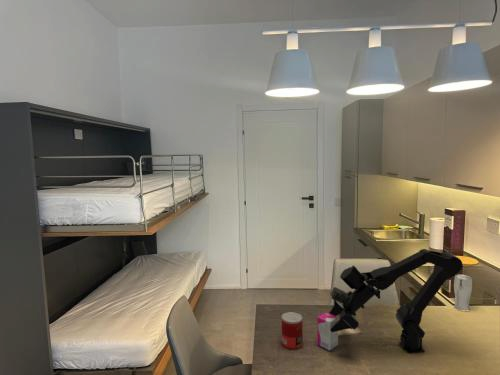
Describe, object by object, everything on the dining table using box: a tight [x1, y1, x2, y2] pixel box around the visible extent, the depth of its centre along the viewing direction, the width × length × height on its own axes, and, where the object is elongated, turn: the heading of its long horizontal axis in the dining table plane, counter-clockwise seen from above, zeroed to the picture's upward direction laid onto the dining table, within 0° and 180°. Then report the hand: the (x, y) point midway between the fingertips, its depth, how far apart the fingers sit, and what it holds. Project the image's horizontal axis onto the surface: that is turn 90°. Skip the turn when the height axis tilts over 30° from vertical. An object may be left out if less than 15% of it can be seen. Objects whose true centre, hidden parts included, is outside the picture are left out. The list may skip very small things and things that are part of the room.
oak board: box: [338, 318, 362, 337], centre depth 141 cm, size 12×12×1 cm
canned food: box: [281, 312, 304, 350], centre depth 129 cm, size 8×8×11 cm
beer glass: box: [453, 273, 473, 311], centre depth 154 cm, size 7×7×15 cm
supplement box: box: [316, 312, 339, 352], centre depth 128 cm, size 6×6×12 cm
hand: (329, 324), depth 127 cm, fingers open, 9 cm apart
